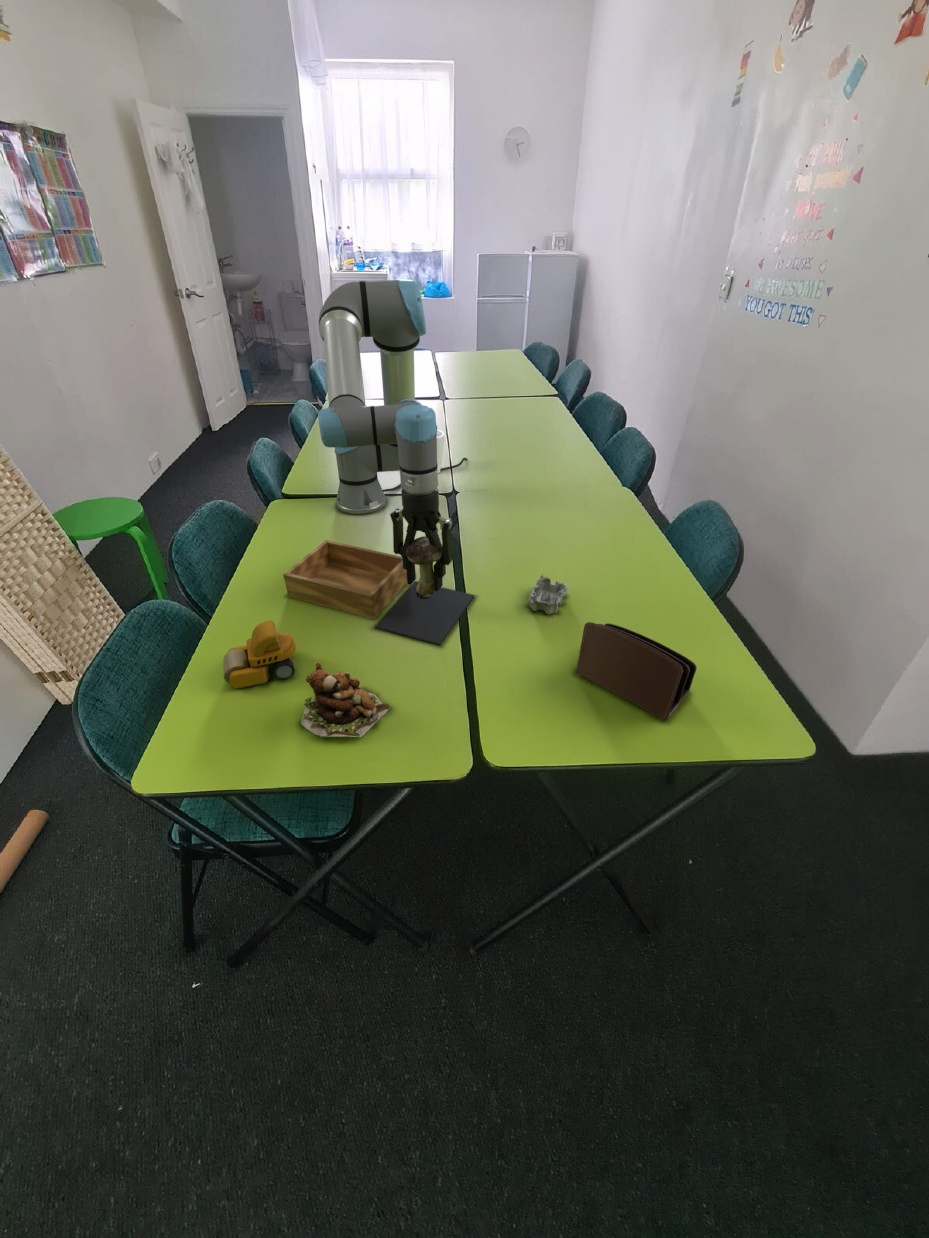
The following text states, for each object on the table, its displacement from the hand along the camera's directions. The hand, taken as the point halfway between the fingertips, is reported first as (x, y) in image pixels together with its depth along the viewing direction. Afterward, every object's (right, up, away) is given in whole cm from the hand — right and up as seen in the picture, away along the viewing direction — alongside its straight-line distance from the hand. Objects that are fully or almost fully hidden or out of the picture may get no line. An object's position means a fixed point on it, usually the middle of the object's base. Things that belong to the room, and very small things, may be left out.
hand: (425, 584), depth 126 cm
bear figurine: (-14, -26, -21) cm, 36 cm away
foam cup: (-3, +45, +72) cm, 85 cm away
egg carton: (+29, -4, +8) cm, 30 cm away
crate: (-20, 0, +13) cm, 23 cm away
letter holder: (+42, -21, -14) cm, 49 cm away
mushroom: (0, -3, +2) cm, 4 cm away
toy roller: (-32, -19, -11) cm, 39 cm away
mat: (0, -6, +5) cm, 8 cm away
